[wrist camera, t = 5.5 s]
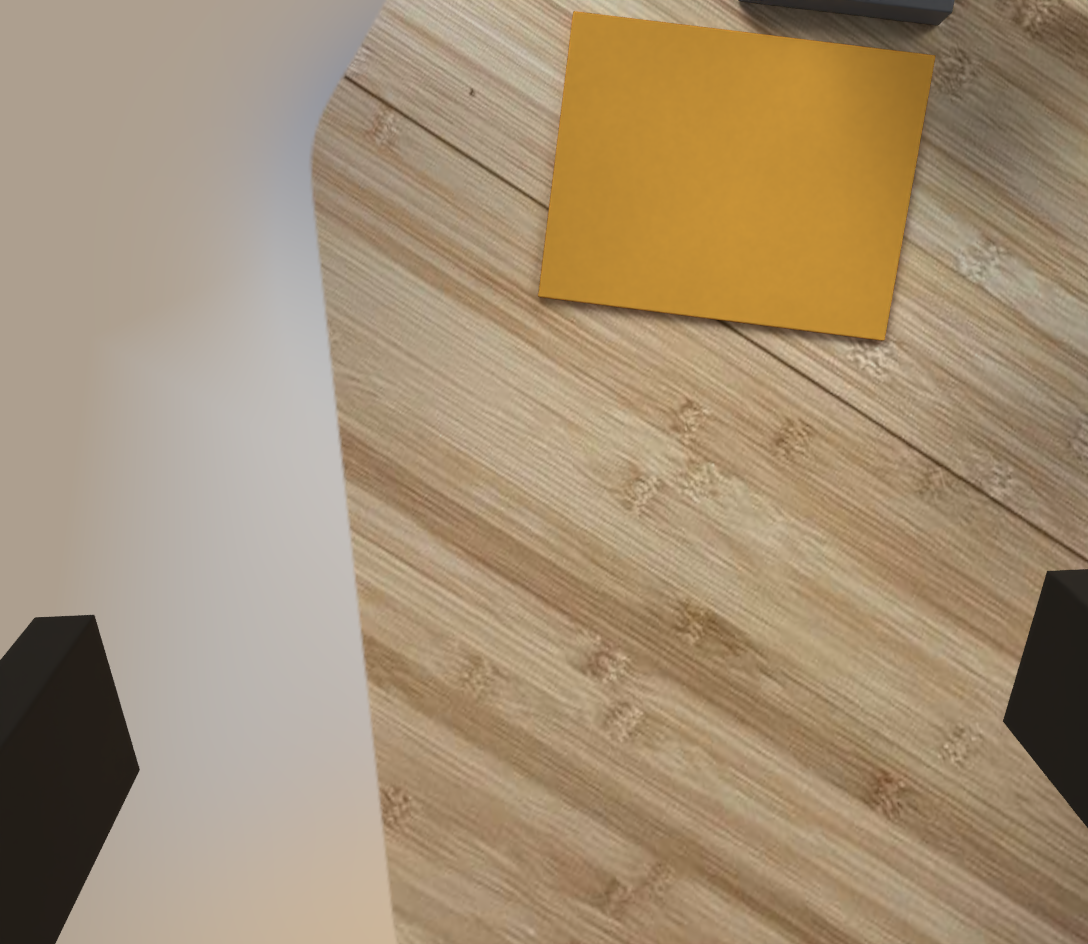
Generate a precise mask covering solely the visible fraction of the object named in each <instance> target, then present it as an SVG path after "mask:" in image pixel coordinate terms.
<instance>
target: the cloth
mask: <svg viewBox="0 0 1088 944" xmlns="http://www.w3.org/2000/svg"><path fill="white" fill-rule="evenodd" d="M934 62H935V55H928V54H920V53H912V52H904V51H895V50H887V49H879V48H871V47H863V46H854V45H846V44H838V43H830V42H822V41H813V40H805V39H797V38H789V37H781V36H772V35H764V34H756V33H748V32H740V31H731V30H723V29H715V28H707V27H699V26H690V25H682V24H674V23H666V22H658V21H649V20H641V19H633V18H625V17H617V16H609V15H600V14H592V13H584V12H576V11H574V12H573V19H572V27H571V35H570V43H569V51H568V59H567V67H566V75H565V83H564V91H563V99H562V107H561V115H560V124H559V132H558V140H557V148H556V156H555V164H554V172H553V180H552V188H551V196H550V204H549V212H548V220H547V228H546V237H545V245H544V253H543V261H542V269H541V277H540V285H539V293H538V296H539V297H543V298H551V299H559V300H567V301H575V302H583V303H590V304H598V305H606V306H614V307H622V308H630V309H638V310H645V311H653V312H661V313H669V314H677V315H685V316H693V317H700V318H708V319H716V320H724V321H732V322H740V323H748V324H755V325H763V326H771V327H779V328H787V329H795V330H803V331H810V332H818V333H826V334H834V335H842V336H850V337H858V338H865V339H873V340H881V341H882V340H885V335H886V329H887V324H888V318H889V312H890V307H891V301H892V296H893V290H894V285H895V279H896V273H897V268H898V262H899V257H900V251H901V246H902V240H903V234H904V229H905V223H906V218H907V212H908V207H909V201H910V195H911V190H912V184H913V179H914V173H915V168H916V162H917V157H918V151H919V145H920V140H921V134H922V129H923V123H924V118H925V112H926V106H927V101H928V95H929V90H930V84H931V79H932V73H933V67H934Z"/></svg>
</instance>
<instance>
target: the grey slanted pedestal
mask: <svg viewBox="0 0 1088 944" xmlns="http://www.w3.org/2000/svg"><path fill="white" fill-rule="evenodd" d="M738 1H742V2H751V3H759V4H767V5H775V6H784V7H792V8H800V9H808V10H817V11H825V12H833V13H841V14H850V15H858V16H866V17H874V18H882V19H891V20H899V21H907V22H915V23H924V24H932V25H939V24H940V23H941V22H942V21H943V20H944V19H945V18H947V17H948V16H949V15H950V14H951V13H952V11H953V5H954V0H738Z"/></svg>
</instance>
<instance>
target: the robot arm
mask: <svg viewBox="0 0 1088 944" xmlns="http://www.w3.org/2000/svg"><path fill="white" fill-rule="evenodd" d="M1003 722H1004V723H1005V725H1006V726H1007V727H1008V728H1009V730H1010V731H1011V732H1012V733H1013V735H1014V736H1015V737H1016V738H1017V740H1018V741H1019V742H1020V744H1021V745H1022V746H1023V747H1024V749H1025V750H1026V751H1027V752H1028V754H1029V755H1030V756H1031V757H1032V759H1033V760H1034V761H1035V762H1036V764H1037V765H1038V766H1039V767H1040V769H1041V770H1042V771H1043V772H1044V774H1045V775H1046V776H1047V777H1048V779H1049V780H1050V781H1051V782H1052V784H1053V785H1054V786H1055V788H1056V789H1057V790H1058V791H1059V793H1060V794H1061V795H1062V796H1063V798H1064V799H1065V800H1066V801H1067V803H1068V804H1069V805H1070V806H1071V808H1072V809H1073V810H1074V811H1075V813H1076V814H1077V815H1078V816H1079V818H1080V819H1081V820H1082V821H1083V823H1084V824H1085V825H1086V826H1087V828H1088V569H1082V570H1060V571H1047V574H1046V577H1045V580H1044V584H1043V587H1042V590H1041V594H1040V597H1039V601H1038V604H1037V607H1036V611H1035V614H1034V618H1033V621H1032V624H1031V628H1030V631H1029V635H1028V638H1027V641H1026V645H1025V648H1024V652H1023V655H1022V658H1021V662H1020V665H1019V669H1018V672H1017V675H1016V679H1015V682H1014V685H1013V689H1012V692H1011V696H1010V699H1009V702H1008V706H1007V709H1006V713H1005V716H1004V719H1003ZM139 770H140V769H139V766H138V762H137V759H136V755H135V752H134V749H133V745H132V742H131V738H130V735H129V732H128V728H127V725H126V721H125V718H124V715H123V711H122V708H121V704H120V701H119V698H118V694H117V691H116V687H115V684H114V680H113V677H112V674H111V670H110V667H109V663H108V660H107V656H106V653H105V650H104V646H103V643H102V639H101V636H100V633H99V629H98V626H97V622H96V619H95V616H94V615H81V616H59V617H36V618H34V619H33V620H32V622H31V623H30V624H29V625H28V627H27V628H26V629H25V630H24V632H23V633H22V634H21V635H20V637H19V638H18V639H17V640H16V642H15V643H14V644H13V645H12V646H11V648H10V649H9V650H8V651H7V653H6V654H5V655H4V656H3V658H2V659H1V660H0V944H55V943H56V941H57V939H58V937H59V935H60V933H61V931H62V928H63V927H64V924H65V922H66V920H67V918H68V916H69V914H70V912H71V910H72V908H73V906H74V904H75V902H76V900H77V898H78V896H79V894H80V891H81V889H82V887H83V885H84V883H85V881H86V879H87V877H88V875H89V873H90V871H91V869H92V867H93V865H94V863H95V861H96V859H97V857H98V854H99V852H100V850H101V848H102V846H103V844H104V842H105V840H106V838H107V836H108V834H109V832H110V830H111V828H112V826H113V824H114V821H115V819H116V817H117V815H118V813H119V811H120V809H121V807H122V805H123V803H124V801H125V799H126V797H127V795H128V793H129V791H130V789H131V787H132V784H133V783H134V780H135V778H136V776H137V774H138V772H139Z"/></svg>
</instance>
